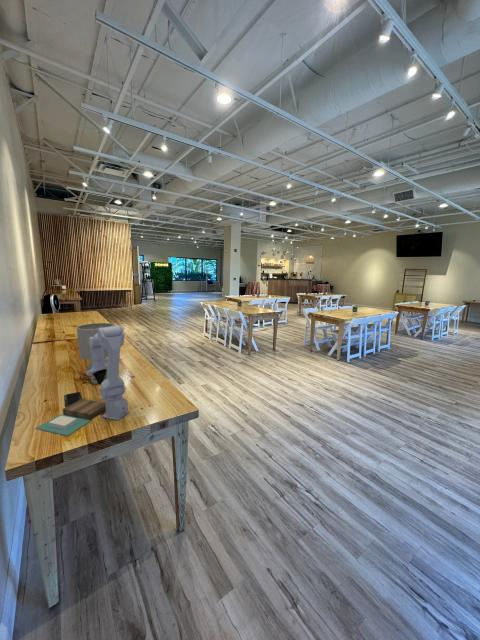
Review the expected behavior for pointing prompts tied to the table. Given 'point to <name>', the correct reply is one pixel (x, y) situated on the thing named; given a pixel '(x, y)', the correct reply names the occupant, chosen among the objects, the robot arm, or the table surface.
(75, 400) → the phone
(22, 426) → the table surface
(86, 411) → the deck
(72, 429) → the mat
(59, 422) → the white rectangular block
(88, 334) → the lamp
